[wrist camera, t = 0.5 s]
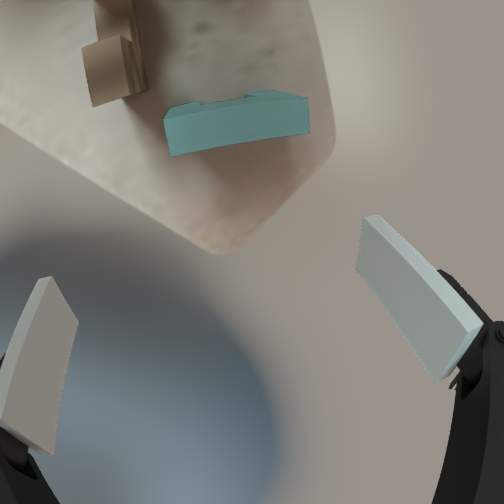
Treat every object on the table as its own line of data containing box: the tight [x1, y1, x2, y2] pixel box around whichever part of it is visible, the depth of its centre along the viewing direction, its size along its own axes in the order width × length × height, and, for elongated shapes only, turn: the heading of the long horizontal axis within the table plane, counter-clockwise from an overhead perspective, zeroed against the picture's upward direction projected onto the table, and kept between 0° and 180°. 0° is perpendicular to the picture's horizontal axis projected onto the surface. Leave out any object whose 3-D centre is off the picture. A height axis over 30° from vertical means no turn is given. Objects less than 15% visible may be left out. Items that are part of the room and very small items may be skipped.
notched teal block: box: [163, 91, 310, 157], centre depth 25 cm, size 11×3×10 cm, turn 96°
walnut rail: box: [82, 0, 148, 107], centre depth 17 cm, size 16×3×10 cm, turn 6°
